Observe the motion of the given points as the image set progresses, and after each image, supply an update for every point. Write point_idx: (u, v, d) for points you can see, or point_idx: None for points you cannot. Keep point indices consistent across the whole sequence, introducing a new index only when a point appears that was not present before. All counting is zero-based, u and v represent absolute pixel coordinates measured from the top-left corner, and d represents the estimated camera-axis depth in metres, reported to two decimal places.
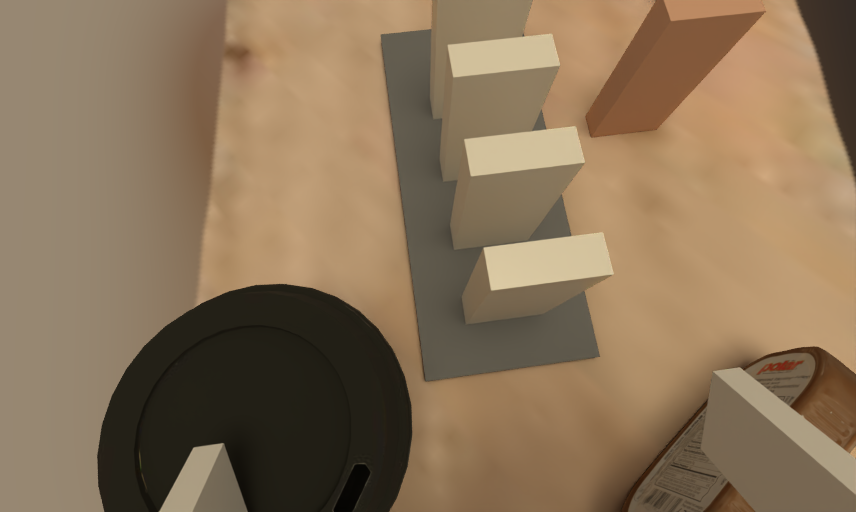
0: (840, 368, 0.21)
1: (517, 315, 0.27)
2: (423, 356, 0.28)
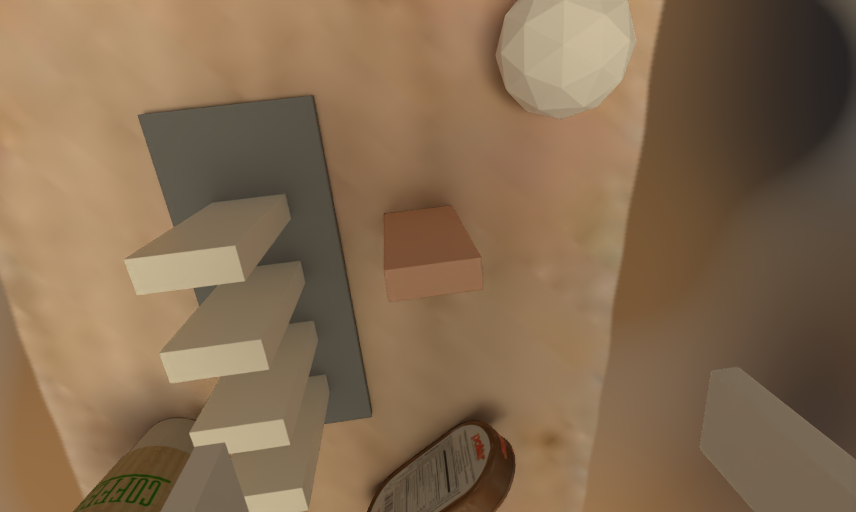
0: (492, 481, 0.33)
1: None
2: None
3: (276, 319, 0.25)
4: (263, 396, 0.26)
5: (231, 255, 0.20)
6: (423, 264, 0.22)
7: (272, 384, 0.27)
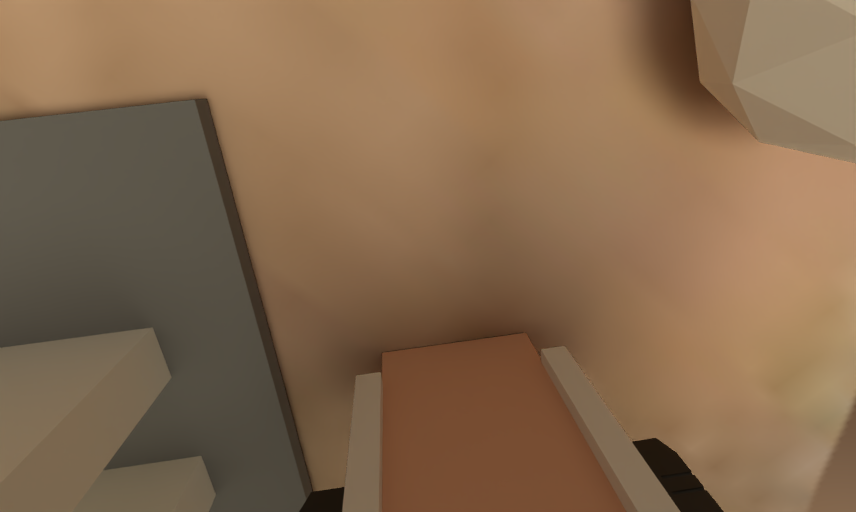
0: None
1: None
2: None
3: None
4: None
5: None
6: None
7: None
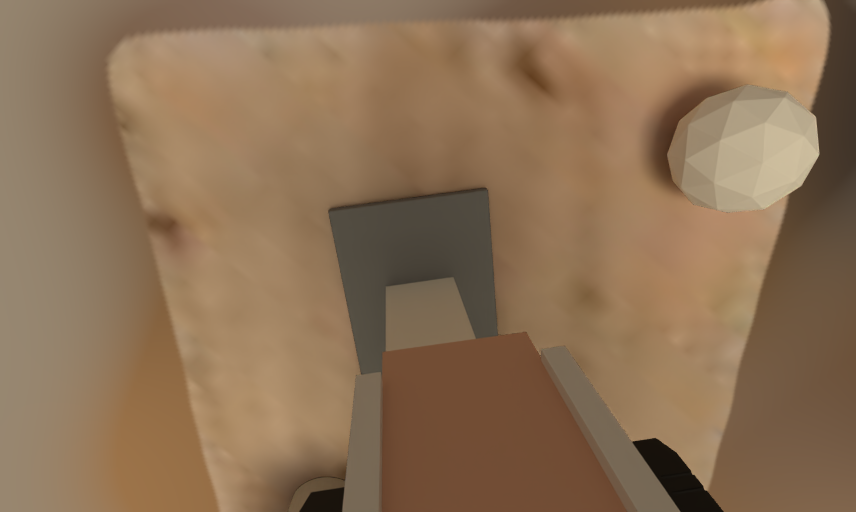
0: None
1: None
2: None
3: None
4: None
5: None
6: None
7: None
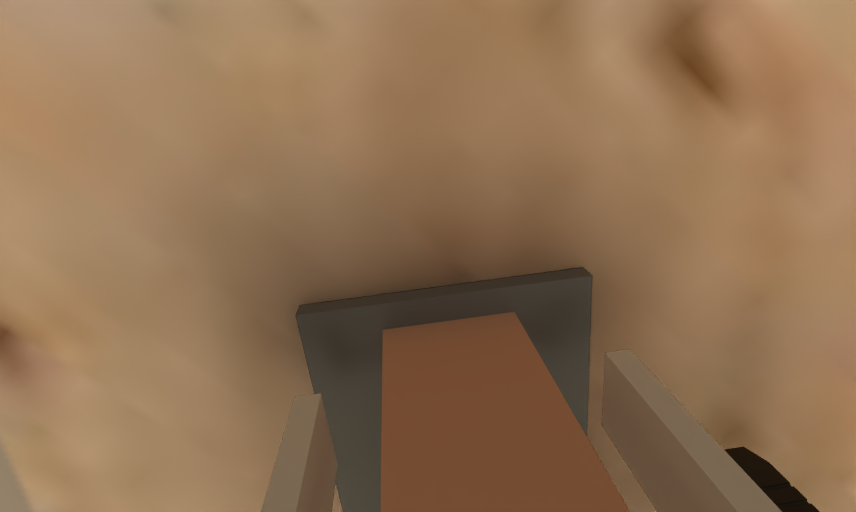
0: None
1: None
2: None
3: None
4: None
5: None
6: None
7: None
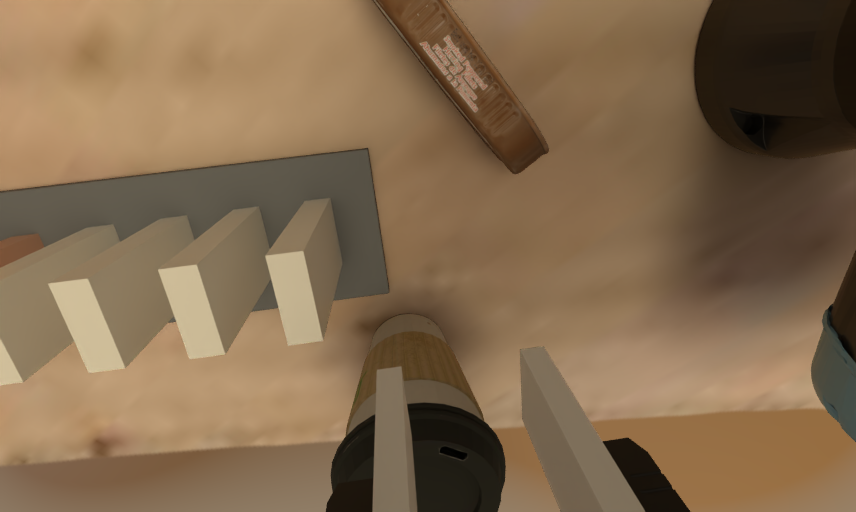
0: None
1: (333, 227, 0.31)
2: (369, 294, 0.34)
3: (96, 259, 0.23)
4: None
5: None
6: None
7: None
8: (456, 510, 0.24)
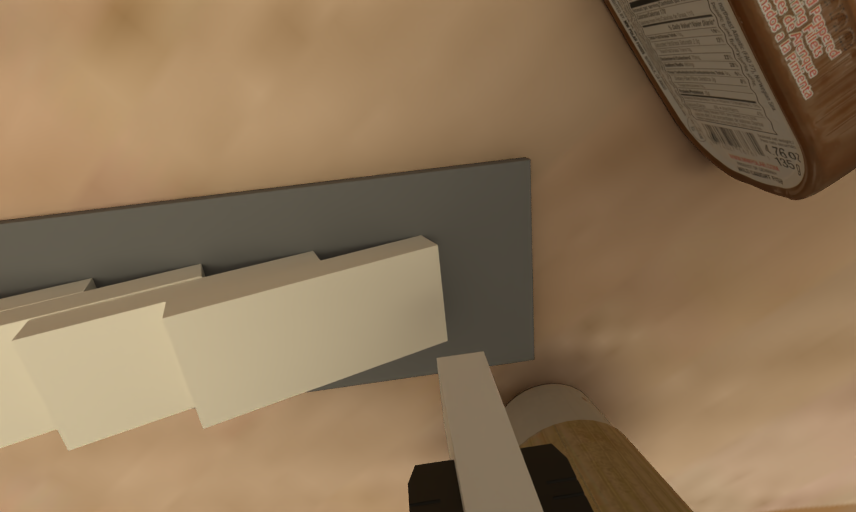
0: None
1: (419, 290, 0.20)
2: (507, 362, 0.24)
3: None
4: None
5: None
6: None
7: None
8: None
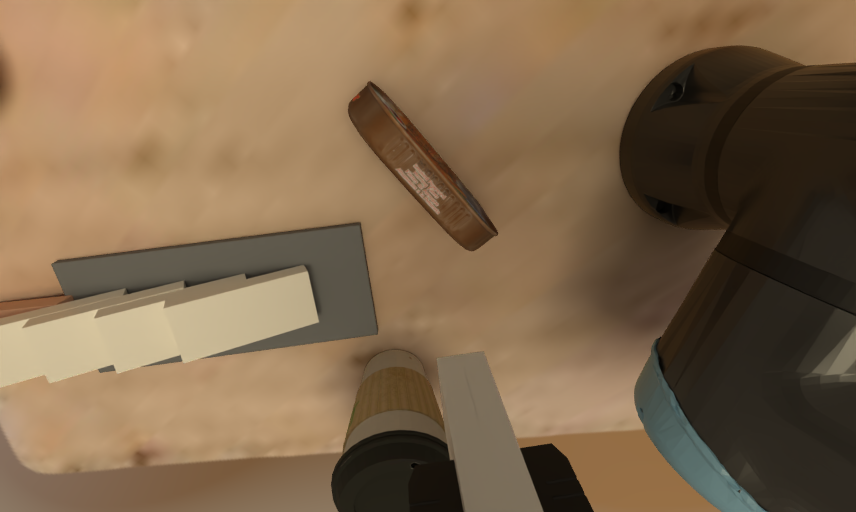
0: (363, 121, 0.29)
1: (298, 294, 0.38)
2: (362, 335, 0.42)
3: (72, 309, 0.35)
4: None
5: None
6: None
7: None
8: None
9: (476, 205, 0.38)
